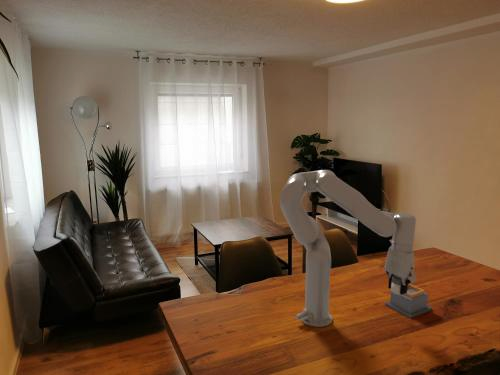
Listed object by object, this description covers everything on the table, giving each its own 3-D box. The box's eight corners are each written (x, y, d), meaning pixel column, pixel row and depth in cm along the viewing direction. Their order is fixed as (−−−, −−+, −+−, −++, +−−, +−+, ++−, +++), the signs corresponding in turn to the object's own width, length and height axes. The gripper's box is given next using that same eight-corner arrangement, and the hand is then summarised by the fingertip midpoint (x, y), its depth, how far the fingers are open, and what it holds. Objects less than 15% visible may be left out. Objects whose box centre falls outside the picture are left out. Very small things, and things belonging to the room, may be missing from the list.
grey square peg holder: (410, 318, 159) (412, 299, 157) (384, 305, 170) (386, 286, 168) (432, 309, 166) (433, 290, 164) (406, 297, 177) (407, 279, 175)
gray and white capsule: (398, 295, 148) (399, 281, 147) (388, 290, 152) (389, 276, 151) (406, 293, 151) (408, 278, 150) (396, 288, 155) (397, 274, 154)
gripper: (377, 240, 153) (373, 284, 157) (415, 255, 139) (409, 302, 142) (390, 238, 157) (386, 280, 160) (428, 251, 143) (422, 297, 146)
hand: (397, 290), depth 151 cm, fingers closed on gray and white capsule, 4 cm apart
